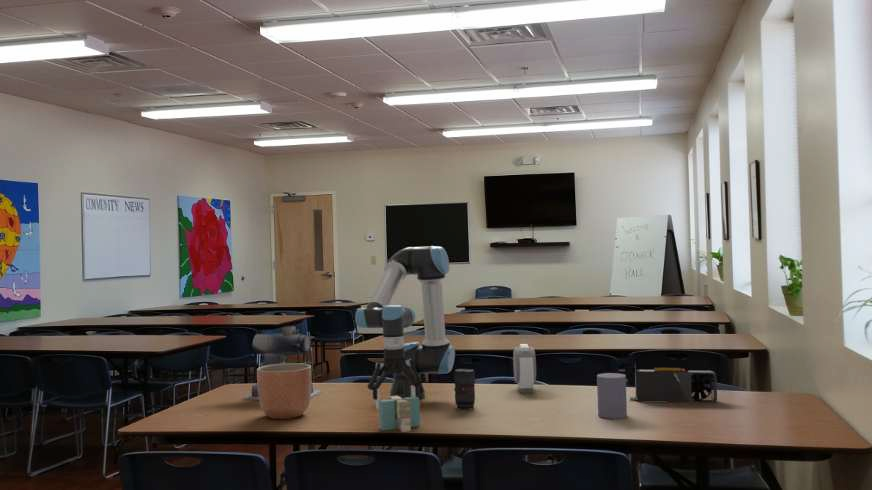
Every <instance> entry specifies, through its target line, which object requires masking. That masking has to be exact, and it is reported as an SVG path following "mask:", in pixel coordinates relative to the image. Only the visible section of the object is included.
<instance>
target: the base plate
mask: <svg viewBox="0 0 872 490" xmlns="http://www.w3.org/2000/svg"><path fill="white" fill-rule="evenodd" d="M404 399H405V400H407V401H408V402H410V421H411V428H414V427H420V426H421V419H420V418H421V416H420V412H421V411H420V399H419V398H418V397H407V398H404ZM378 410H379V411H378V412H379V413H378V414H379V429H380V430H381V431H388V430H398V420H397V417H395V401H394V400H393V399H389V398H388V399H381V400H379V409H378Z"/></svg>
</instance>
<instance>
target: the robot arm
mask: <svg viewBox="0 0 872 490" xmlns="http://www.w3.org/2000/svg"><path fill="white" fill-rule="evenodd" d="M449 260H450V259H449V256H448V253H447V251H446V250H445V248H444V247H442V246H439V245H438V246H437V245H436V246H434V245H431V246H429V245H428V246H425V245H424V246H408V247H404V248H402V249H400V250H398V251H397V252H395V253H394V254H393V255H392V256H391V257H390V258H389V259H388V260H387V262H386V264H385V266H384V273H383V275H382V276H381V278H380V280H379V282H378V284H377V286H376V288H375V289H374V292H373V293H372V295H371V297H370V299H369V302H367V305H366V307H361V308H357V309H356V311H355V315H354V320H355V323H356V326H357V327H358V328H361V329H363V328H364V329H382V339H383V340H382V341H383V362H377V361H376V362H375V365H374V370H373V373H372V374H371V378H370V379H369V382H368V384H367V389H369V390H370V391H372V399H373V400H375V408H376V409H377V410H379V400H380V399H381V397H380V395H381V394H380V390H379V388H380V387H381V385H383V383H384V381H385V380H386V378H387V377H388V376H390V375H392V377H393V380H392V384H391V387H390V391H389V396H399V397H401V398H403V399H404V398H407V397H418V398H419V400H421V399H423V398H425V397H426V391H425V388H424V385H423V380H422V378H421V374H437V375H440V374H441V375H442V374H444V375H445V374H448V373H450V372H451V371H452V370H453V366H454V363H455V358H456V350H455V347H454V346H453V345H450V340H449V339H448V338H447V337H446V327H445V326H446V325H445V312H444V311H445V310H444V295H443V281H444V280H445V278H446V275H447V274H448V273H449V271H450V261H449ZM411 275H412V276H413V275H415V276H417V277H416V278H417V280H418V282H420V284H421V295H422V311H423V325H424V340H422V342H421V344H420V342H419V341H412V342H405V341H404V340H405V339H404V338H405V336H404V334H405V333H404V329H406V328H409V327H410V326H412V325H413V324H414V323H415V321H416V313H415V311H414V310H413V308H410V307H408V306H403V305H400V304H390V303H391V301H392V299H393V297H394V295H395V293H396V292H397V289H398V288H399V285H400V283H401V281H403V280H404V279H405V278H406V277H407V276H411ZM382 368H383V369H384V370H383V371H382V373H381V375H380V372H381V369H382ZM378 376H379V377H378Z"/></svg>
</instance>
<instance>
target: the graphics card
mask: <svg viewBox="0 0 872 490" xmlns="http://www.w3.org/2000/svg"><path fill="white" fill-rule="evenodd" d="M634 369H635V371H634V372H635V373H634V379H635V380H634V381H635V382H634V385H635V387H634V388H635V396H634V397H629V400H630V401H633V400H637V401H639V402H642V401H667V402H666V403H690V402H698V403H700V404H701V403H702V404H705V403H706V404H715V403H716V402H717V401H718V387H717V386H718V385H717V384H718V383H717V380H718V379H717V374H716V373H715V372H714V371H713V370H687V372H686V369H685V368H681V367H654V368H653V369H637V365H636V362H635V363H634Z"/></svg>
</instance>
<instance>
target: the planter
mask: <svg viewBox="0 0 872 490" xmlns="http://www.w3.org/2000/svg"><path fill="white" fill-rule="evenodd" d="M311 381H312V365H311V364H308V363H297V362H296V363H293V362H292V363H291V362H290V363H288V362H287V363H286V362H285V364H274V365H267V366H259V367H258V368H256V382H257V383H256V384H258V395H259V400H258V402H259V405H260V409H261V411H262V413H263V414H264V415H265V416H267V418H270V419H275V420H289V419H294V418H298V417H301V416H302V415H304V414H305V413H306V411H307V410H308V409H309V406H310V402H311V399H310V396H311Z"/></svg>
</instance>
